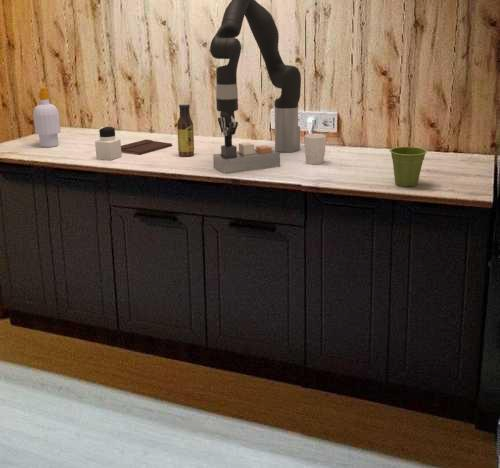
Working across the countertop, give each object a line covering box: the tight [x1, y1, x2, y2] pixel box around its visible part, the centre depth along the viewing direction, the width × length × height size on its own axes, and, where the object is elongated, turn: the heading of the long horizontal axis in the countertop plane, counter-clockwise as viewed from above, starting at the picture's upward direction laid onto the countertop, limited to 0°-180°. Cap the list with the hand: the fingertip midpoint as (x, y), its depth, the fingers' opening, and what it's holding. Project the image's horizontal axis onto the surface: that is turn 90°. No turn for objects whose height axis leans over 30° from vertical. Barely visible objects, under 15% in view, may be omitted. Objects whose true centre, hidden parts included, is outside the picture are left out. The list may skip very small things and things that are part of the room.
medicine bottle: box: [94, 126, 123, 161], centre depth 283 cm, size 7×7×12 cm
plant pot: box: [389, 146, 428, 187], centre depth 237 cm, size 12×12×11 cm
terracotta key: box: [255, 145, 273, 153], centre depth 267 cm, size 4×4×4 cm
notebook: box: [121, 138, 173, 156], centre depth 300 cm, size 15×20×2 cm
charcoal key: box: [220, 144, 238, 157], centre depth 261 cm, size 4×4×4 cm
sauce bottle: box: [176, 103, 195, 157], centre depth 284 cm, size 6×6×20 cm
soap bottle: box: [32, 86, 61, 148], centre depth 305 cm, size 10×10×24 cm
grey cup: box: [303, 133, 327, 165], centre depth 269 cm, size 8×8×10 cm
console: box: [212, 148, 281, 174], centre depth 265 cm, size 22×10×5 cm, turn 116°
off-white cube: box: [238, 142, 255, 155], centre depth 264 cm, size 4×4×4 cm
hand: (228, 145), depth 260 cm, fingers closed
